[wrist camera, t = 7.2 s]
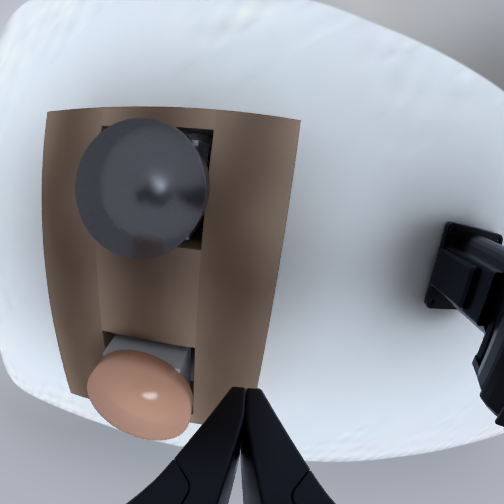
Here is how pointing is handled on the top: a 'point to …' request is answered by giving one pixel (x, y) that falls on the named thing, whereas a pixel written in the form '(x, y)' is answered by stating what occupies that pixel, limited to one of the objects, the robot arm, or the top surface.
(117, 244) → the charcoal plunger
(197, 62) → the top surface
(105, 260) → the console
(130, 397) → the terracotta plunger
